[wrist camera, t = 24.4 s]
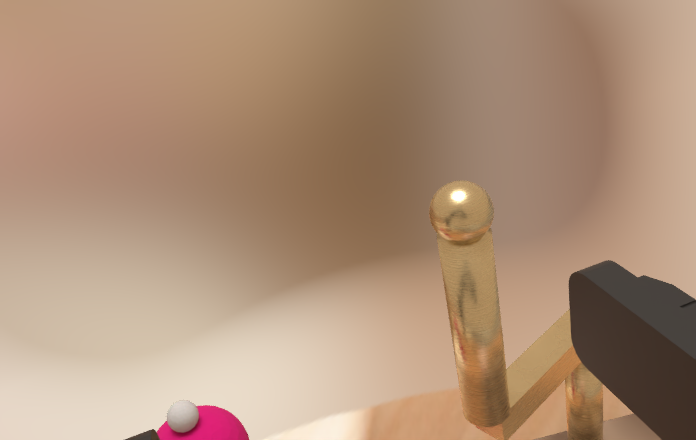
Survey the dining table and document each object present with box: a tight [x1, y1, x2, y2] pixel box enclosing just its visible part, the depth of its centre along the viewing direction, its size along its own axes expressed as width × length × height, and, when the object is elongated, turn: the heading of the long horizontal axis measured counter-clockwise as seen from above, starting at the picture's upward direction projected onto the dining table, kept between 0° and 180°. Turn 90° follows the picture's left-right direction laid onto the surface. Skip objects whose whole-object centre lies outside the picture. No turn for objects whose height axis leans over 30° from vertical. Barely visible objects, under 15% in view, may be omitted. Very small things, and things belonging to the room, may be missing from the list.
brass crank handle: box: [429, 181, 603, 440], centre depth 40 cm, size 16×3×27 cm, turn 133°
